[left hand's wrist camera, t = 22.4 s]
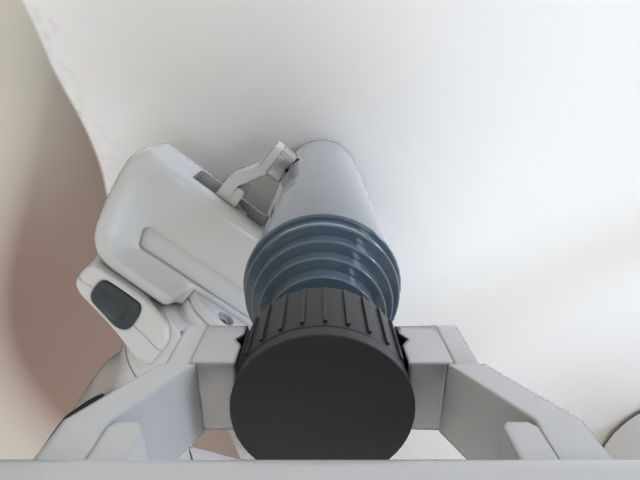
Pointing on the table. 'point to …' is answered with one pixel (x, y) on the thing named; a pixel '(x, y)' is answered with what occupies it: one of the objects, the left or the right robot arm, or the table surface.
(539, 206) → the table surface
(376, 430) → the cap
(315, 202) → the bottle
